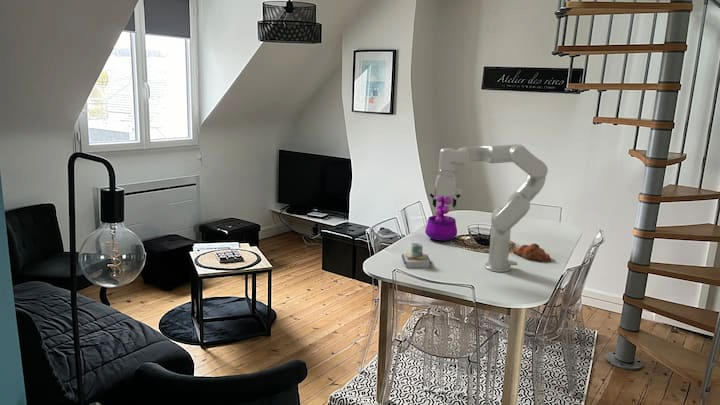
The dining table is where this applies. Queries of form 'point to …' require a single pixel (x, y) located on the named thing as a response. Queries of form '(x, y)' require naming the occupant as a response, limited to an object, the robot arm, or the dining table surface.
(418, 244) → the pallet
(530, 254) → the pastry
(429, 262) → the dock
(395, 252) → the dining table surface
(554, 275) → the dining table surface
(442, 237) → the decorative plant
